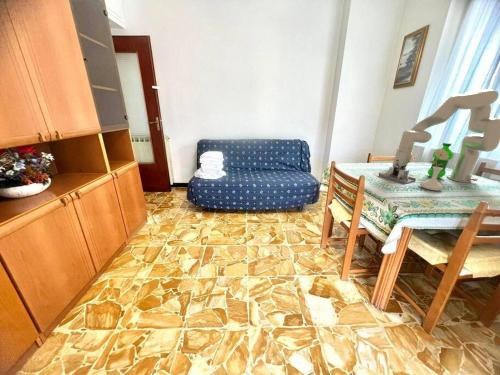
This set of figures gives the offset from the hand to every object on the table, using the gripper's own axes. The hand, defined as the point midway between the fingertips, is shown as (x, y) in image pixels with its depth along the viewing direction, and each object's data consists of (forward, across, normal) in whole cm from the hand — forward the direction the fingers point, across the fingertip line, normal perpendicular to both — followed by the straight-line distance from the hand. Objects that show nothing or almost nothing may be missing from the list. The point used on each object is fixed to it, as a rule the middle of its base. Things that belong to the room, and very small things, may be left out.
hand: (397, 174), depth 146 cm
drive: (+1, 0, 0) cm, 1 cm away
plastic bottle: (+3, -30, +10) cm, 32 cm away
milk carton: (+3, -21, -11) cm, 24 cm away
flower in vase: (+3, -1, +20) cm, 20 cm away
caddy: (+3, 0, 0) cm, 3 cm away
